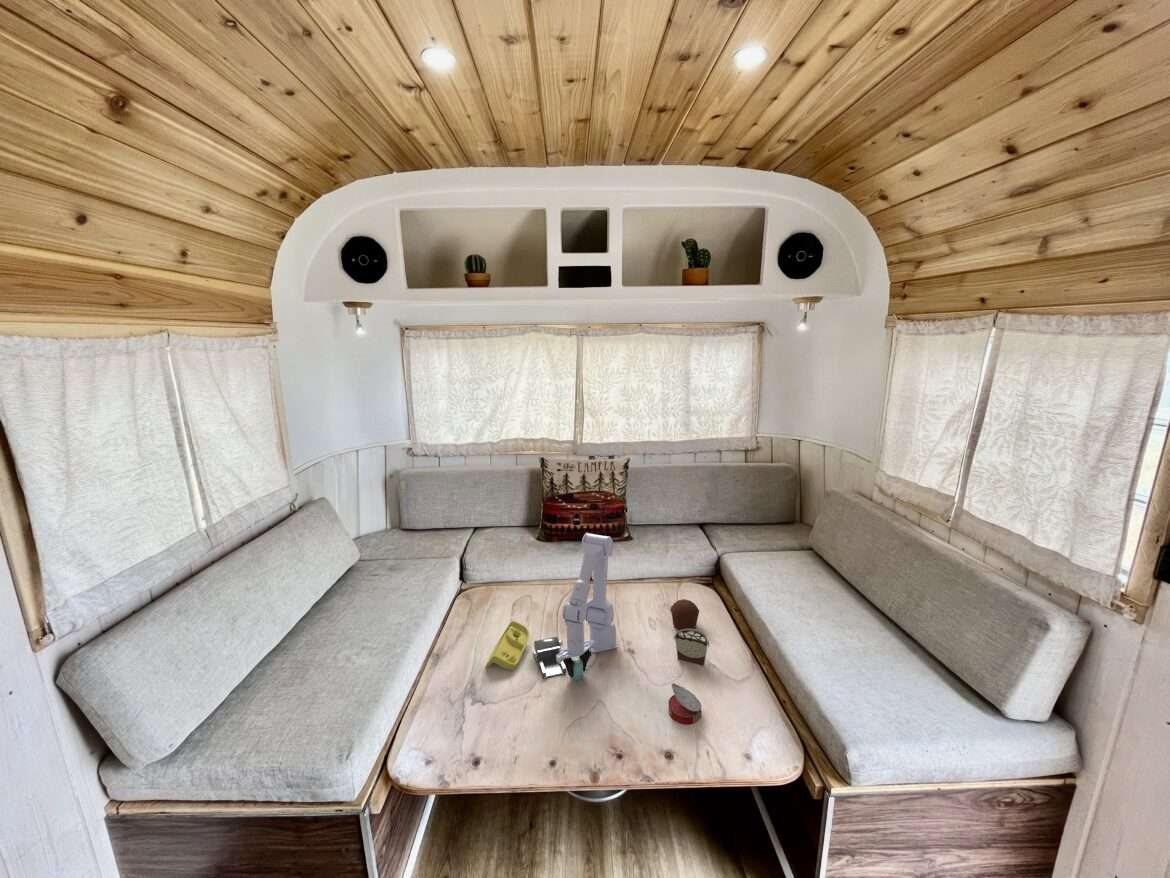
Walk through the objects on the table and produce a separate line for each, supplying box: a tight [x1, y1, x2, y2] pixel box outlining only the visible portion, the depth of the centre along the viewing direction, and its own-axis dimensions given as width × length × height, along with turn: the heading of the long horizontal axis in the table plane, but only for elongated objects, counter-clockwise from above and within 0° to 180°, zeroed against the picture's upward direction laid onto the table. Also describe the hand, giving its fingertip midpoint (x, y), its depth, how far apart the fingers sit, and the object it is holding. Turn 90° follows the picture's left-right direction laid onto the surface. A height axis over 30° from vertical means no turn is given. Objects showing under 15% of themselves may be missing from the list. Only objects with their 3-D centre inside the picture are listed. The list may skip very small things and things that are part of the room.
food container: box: [673, 628, 710, 667], centre depth 173 cm, size 12×6×10 cm, turn 65°
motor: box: [533, 636, 567, 679], centre depth 173 cm, size 10×15×6 cm
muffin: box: [669, 598, 700, 631], centre depth 192 cm, size 12×11×10 cm
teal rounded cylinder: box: [569, 656, 584, 682], centre depth 165 cm, size 4×4×7 cm
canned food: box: [668, 682, 702, 726], centre depth 148 cm, size 11×10×10 cm
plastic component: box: [485, 620, 531, 671], centre depth 179 cm, size 20×7×10 cm
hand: (576, 672), depth 165 cm, fingers closed on teal rounded cylinder, 4 cm apart
